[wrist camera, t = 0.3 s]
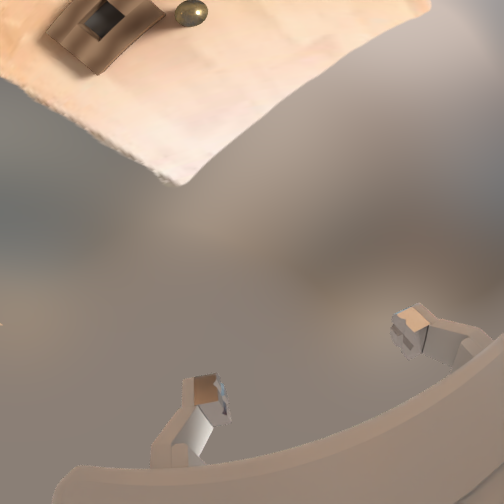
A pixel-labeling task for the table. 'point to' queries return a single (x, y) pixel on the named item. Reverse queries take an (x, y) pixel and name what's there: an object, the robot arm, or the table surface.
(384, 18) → the table surface
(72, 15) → the post block
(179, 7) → the steel rod
